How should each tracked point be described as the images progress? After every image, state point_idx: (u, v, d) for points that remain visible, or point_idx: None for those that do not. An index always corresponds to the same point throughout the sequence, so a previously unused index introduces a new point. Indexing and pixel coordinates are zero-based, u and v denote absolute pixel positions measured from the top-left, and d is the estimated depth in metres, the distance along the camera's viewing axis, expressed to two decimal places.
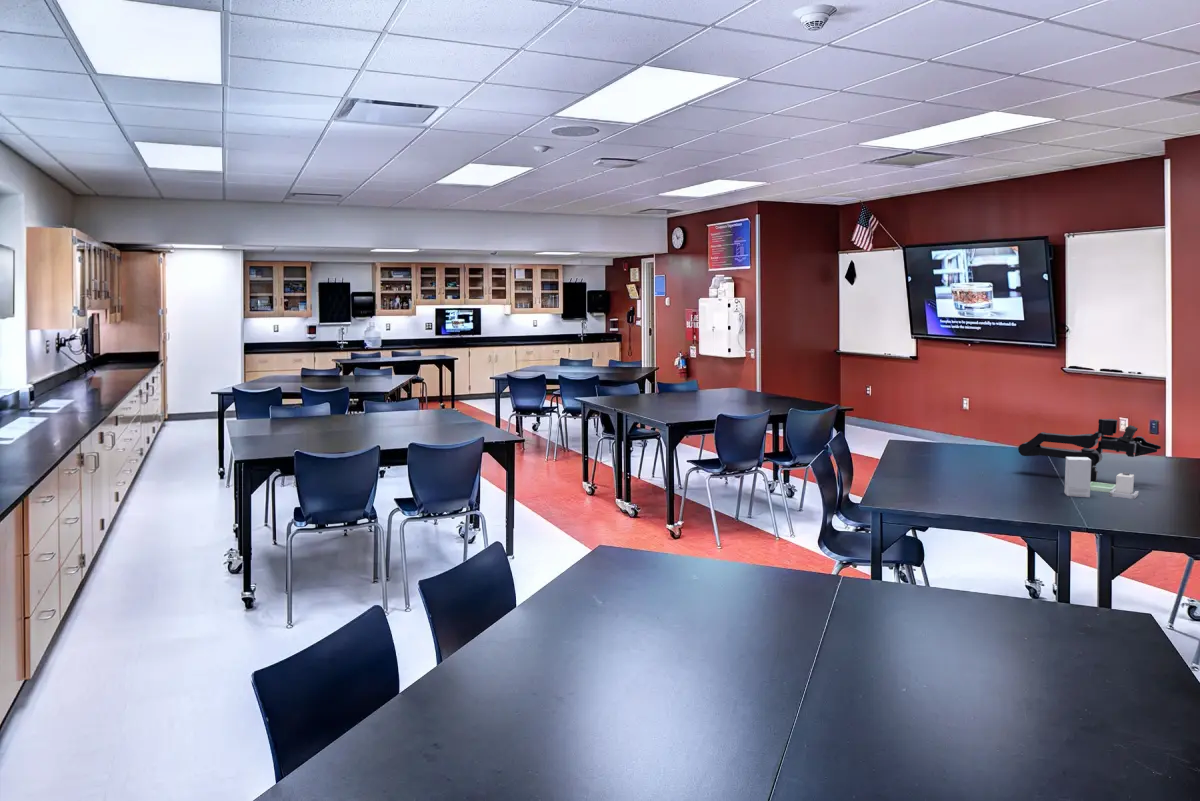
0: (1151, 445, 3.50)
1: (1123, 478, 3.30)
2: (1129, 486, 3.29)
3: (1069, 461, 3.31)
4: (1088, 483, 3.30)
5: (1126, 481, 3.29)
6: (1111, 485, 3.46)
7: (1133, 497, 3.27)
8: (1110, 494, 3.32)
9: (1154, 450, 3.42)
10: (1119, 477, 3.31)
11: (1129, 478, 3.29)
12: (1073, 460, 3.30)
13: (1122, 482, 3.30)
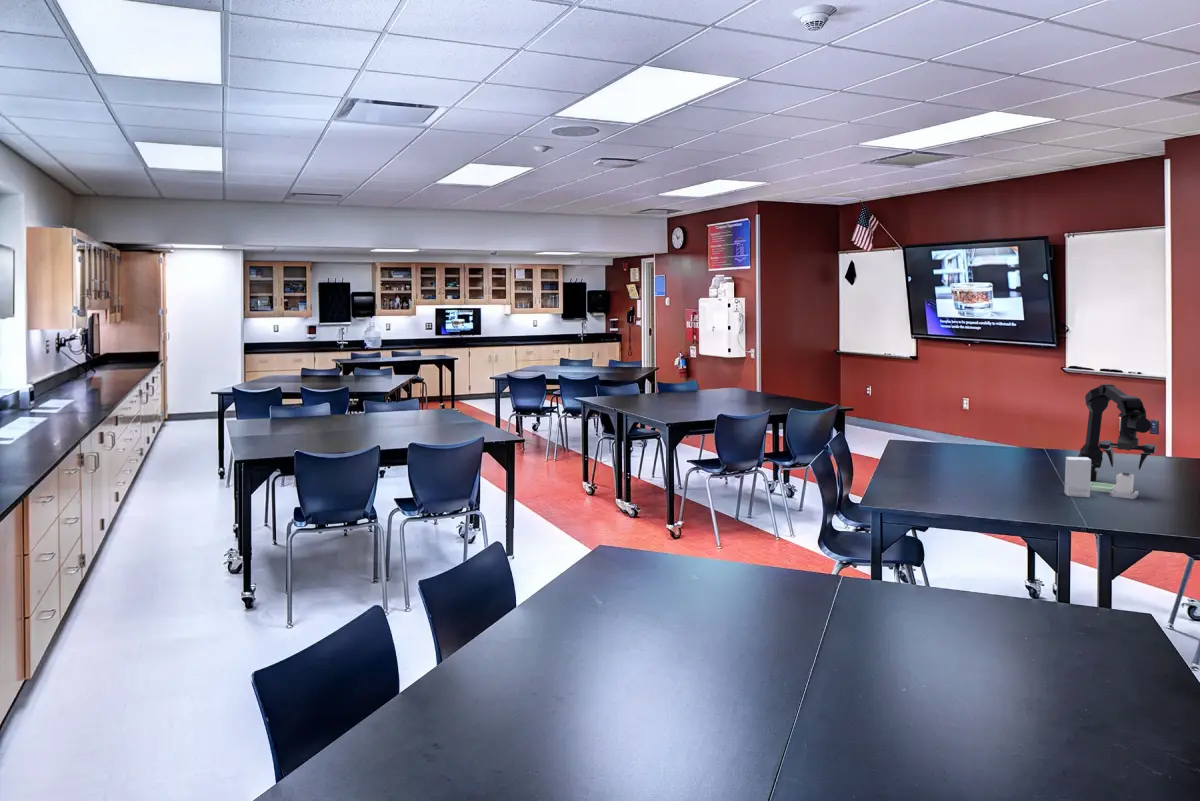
0: (1140, 461, 3.29)
1: (1123, 478, 3.30)
2: (1129, 486, 3.29)
3: (1069, 461, 3.31)
4: (1088, 483, 3.30)
5: (1126, 481, 3.29)
6: (1111, 485, 3.46)
7: (1133, 497, 3.27)
8: (1110, 494, 3.32)
9: (1111, 464, 3.35)
10: (1119, 477, 3.31)
11: (1129, 478, 3.29)
12: (1073, 460, 3.30)
13: (1122, 482, 3.30)
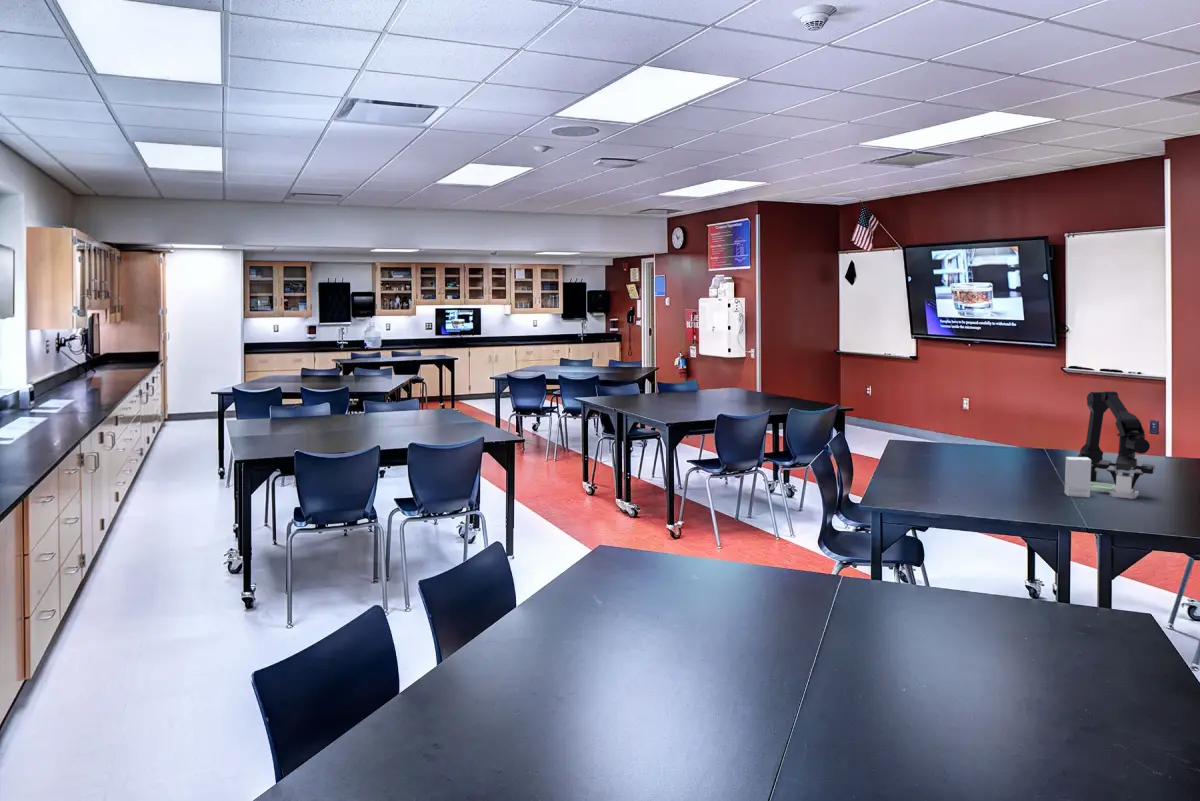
0: None
1: (1123, 478, 3.30)
2: (1129, 486, 3.29)
3: (1069, 461, 3.31)
4: (1088, 483, 3.30)
5: (1126, 481, 3.29)
6: (1111, 485, 3.46)
7: (1133, 497, 3.27)
8: (1110, 494, 3.32)
9: (1115, 485, 3.35)
10: (1119, 477, 3.31)
11: (1129, 478, 3.29)
12: (1073, 460, 3.30)
13: (1122, 482, 3.30)
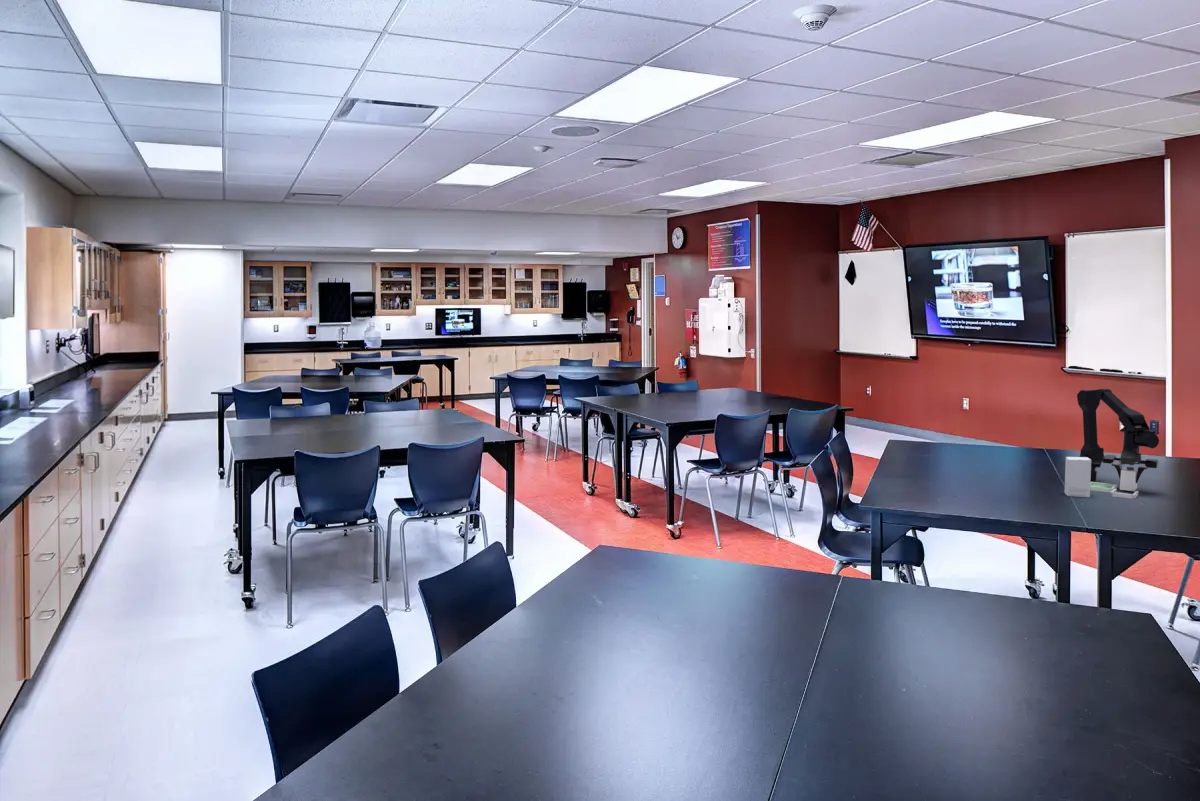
0: (1137, 475, 3.39)
1: (1127, 472, 3.38)
2: (1133, 480, 3.37)
3: (1069, 461, 3.31)
4: (1088, 483, 3.30)
5: (1130, 475, 3.37)
6: (1111, 485, 3.46)
7: (1133, 497, 3.27)
8: (1110, 494, 3.32)
9: None
10: (1123, 471, 3.39)
11: (1133, 472, 3.37)
12: (1073, 460, 3.30)
13: (1126, 476, 3.38)
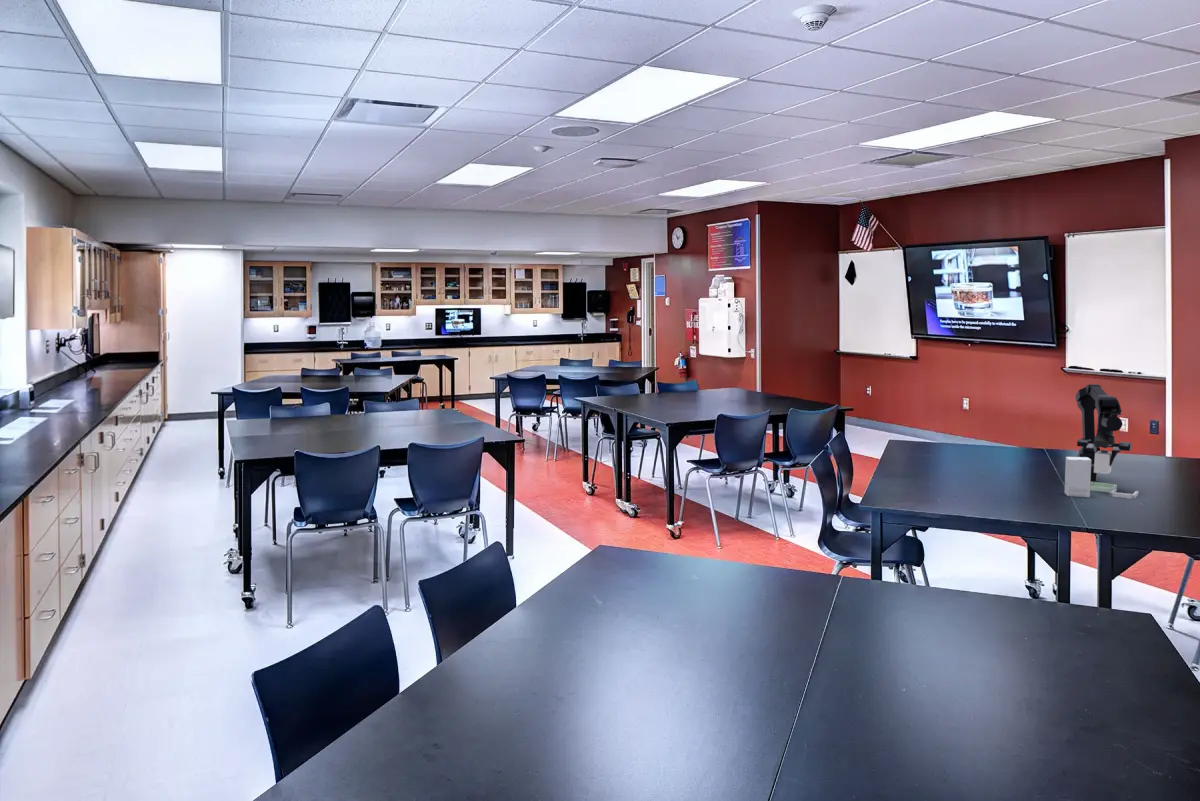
0: None
1: (1101, 455, 3.40)
2: (1107, 463, 3.39)
3: (1069, 461, 3.31)
4: (1088, 483, 3.30)
5: (1104, 458, 3.40)
6: (1111, 485, 3.46)
7: (1133, 497, 3.27)
8: (1110, 494, 3.32)
9: None
10: (1097, 454, 3.41)
11: (1107, 455, 3.39)
12: (1073, 460, 3.30)
13: (1100, 459, 3.41)
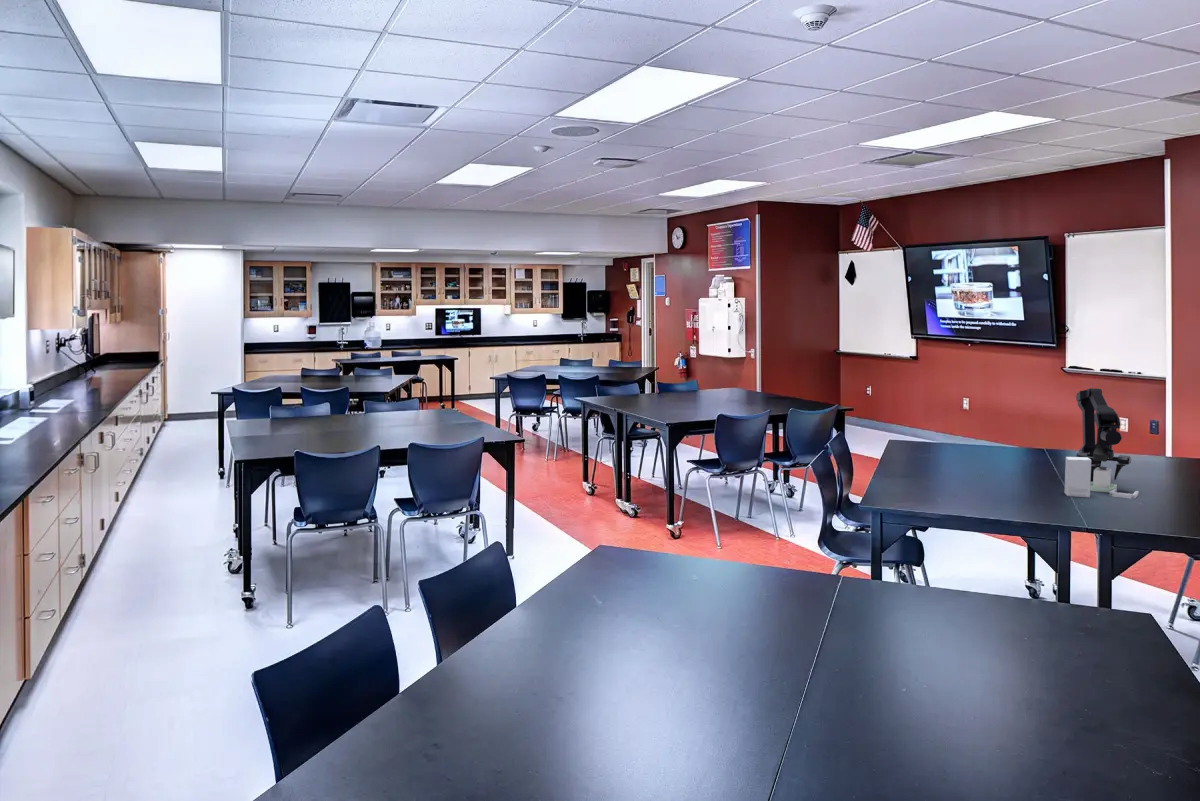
0: None
1: (1100, 472, 3.41)
2: (1106, 480, 3.40)
3: (1069, 461, 3.31)
4: (1088, 483, 3.30)
5: (1103, 475, 3.40)
6: (1111, 485, 3.46)
7: (1133, 497, 3.27)
8: (1110, 494, 3.32)
9: None
10: (1096, 471, 3.42)
11: (1106, 472, 3.40)
12: (1073, 460, 3.30)
13: (1099, 476, 3.41)
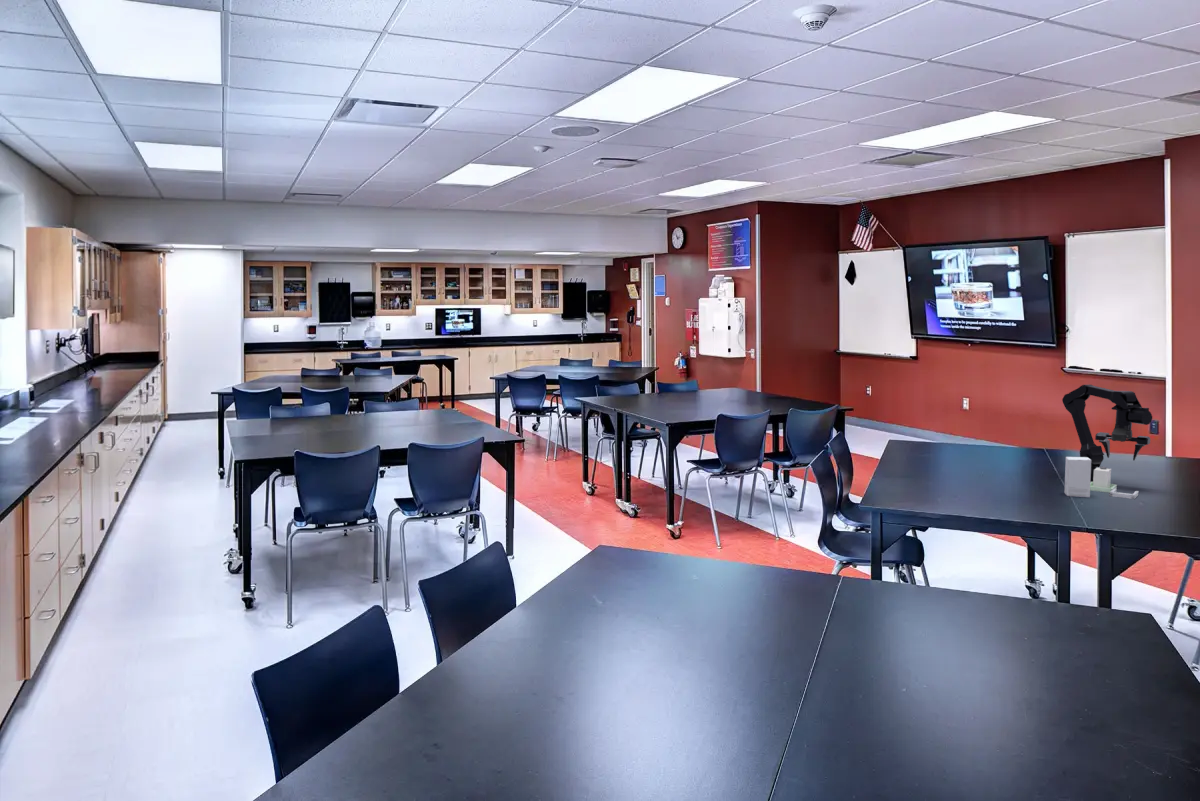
0: (1134, 452, 3.43)
1: (1100, 472, 3.41)
2: (1106, 480, 3.40)
3: (1069, 461, 3.31)
4: (1088, 483, 3.30)
5: (1103, 475, 3.40)
6: (1111, 485, 3.46)
7: (1133, 497, 3.27)
8: (1110, 494, 3.32)
9: (1107, 455, 3.50)
10: (1096, 471, 3.42)
11: (1106, 472, 3.40)
12: (1073, 460, 3.30)
13: (1099, 476, 3.41)
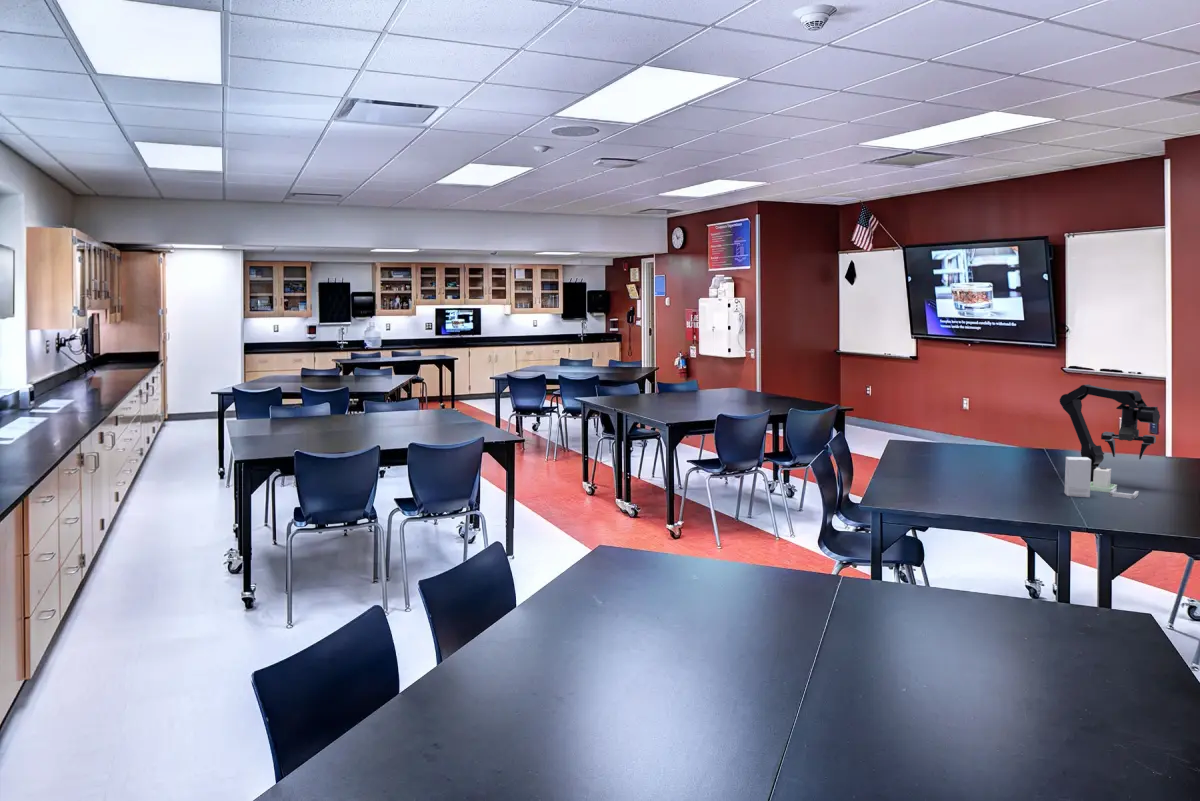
0: (1140, 451, 3.45)
1: (1100, 472, 3.41)
2: (1106, 480, 3.40)
3: (1069, 461, 3.31)
4: (1088, 483, 3.30)
5: (1103, 475, 3.40)
6: (1111, 485, 3.46)
7: (1133, 497, 3.27)
8: (1110, 494, 3.32)
9: (1113, 454, 3.52)
10: (1096, 471, 3.42)
11: (1106, 472, 3.40)
12: (1073, 460, 3.30)
13: (1099, 476, 3.41)
